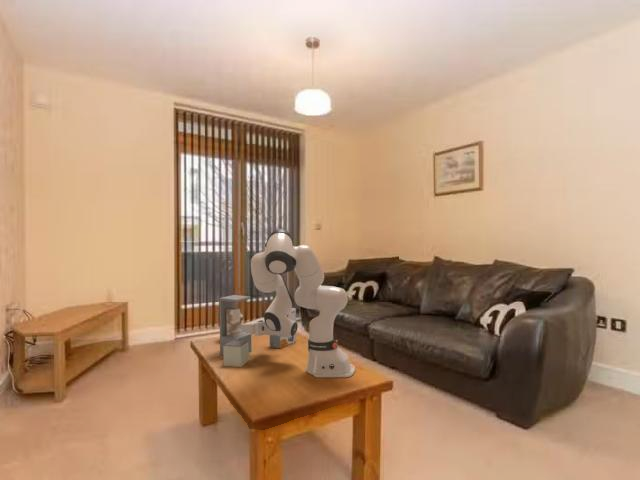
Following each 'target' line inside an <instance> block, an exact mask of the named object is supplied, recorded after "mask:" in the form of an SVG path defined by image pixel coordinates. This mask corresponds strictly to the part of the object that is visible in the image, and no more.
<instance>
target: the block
mask: <svg viewBox="0 0 640 480" xmlns="http://www.w3.org/2000/svg"><path fill="white" fill-rule="evenodd" d="M240 312H241V308H239V307H236V308H234V307H233V308H229V309H226V318H227V335H228V336H237V335H239V334H240Z"/></svg>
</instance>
